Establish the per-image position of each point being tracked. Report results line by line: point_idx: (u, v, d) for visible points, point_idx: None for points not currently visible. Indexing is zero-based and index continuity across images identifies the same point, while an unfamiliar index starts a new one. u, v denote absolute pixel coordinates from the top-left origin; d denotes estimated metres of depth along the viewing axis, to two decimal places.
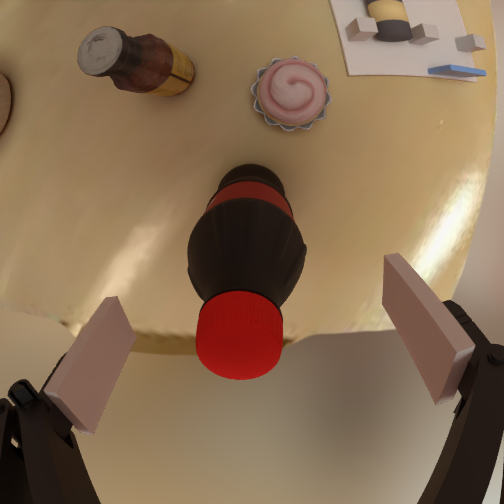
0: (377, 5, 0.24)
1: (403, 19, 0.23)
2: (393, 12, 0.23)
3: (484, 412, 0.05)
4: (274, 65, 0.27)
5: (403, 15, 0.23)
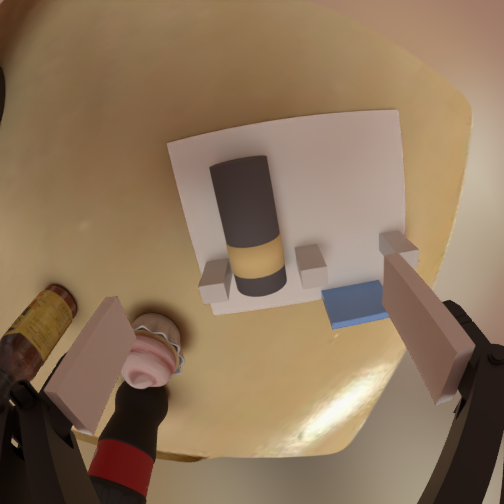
0: (229, 252, 0.27)
1: (263, 275, 0.26)
2: (247, 269, 0.26)
3: (484, 412, 0.05)
4: None
5: (264, 268, 0.26)
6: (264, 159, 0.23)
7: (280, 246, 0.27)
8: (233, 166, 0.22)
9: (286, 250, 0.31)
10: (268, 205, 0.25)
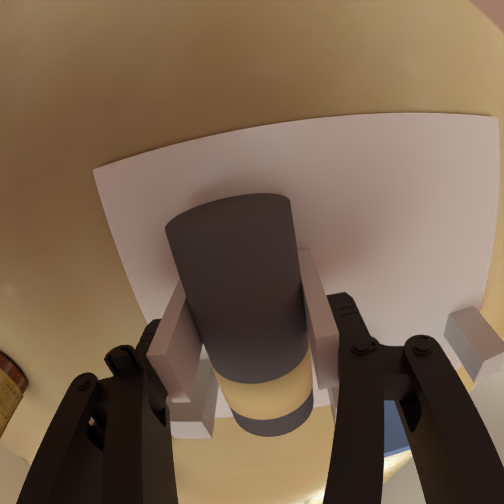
0: (218, 381, 0.13)
1: (281, 414, 0.13)
2: (254, 409, 0.13)
3: (356, 404, 0.06)
4: None
5: (284, 405, 0.13)
6: (288, 209, 0.11)
7: (310, 362, 0.14)
8: (220, 235, 0.09)
9: None
10: (296, 305, 0.12)
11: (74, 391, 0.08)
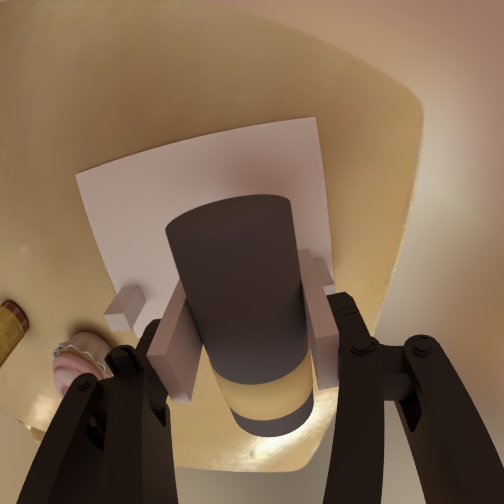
0: (219, 382, 0.13)
1: (281, 415, 0.13)
2: (254, 410, 0.13)
3: (356, 404, 0.06)
4: (54, 361, 0.28)
5: (284, 406, 0.13)
6: (289, 211, 0.11)
7: (310, 363, 0.14)
8: (221, 236, 0.09)
9: None
10: (296, 306, 0.12)
11: (75, 391, 0.08)
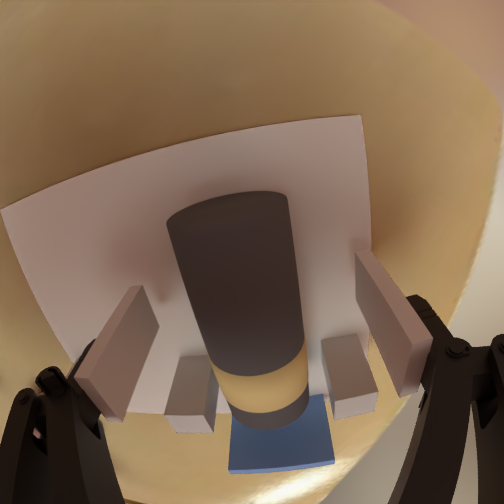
0: (215, 373, 0.14)
1: (275, 408, 0.14)
2: (248, 402, 0.13)
3: (445, 406, 0.05)
4: None
5: (278, 399, 0.13)
6: (285, 207, 0.11)
7: (305, 358, 0.14)
8: (216, 230, 0.10)
9: (169, 359, 0.19)
10: (291, 300, 0.12)
11: (18, 405, 0.07)
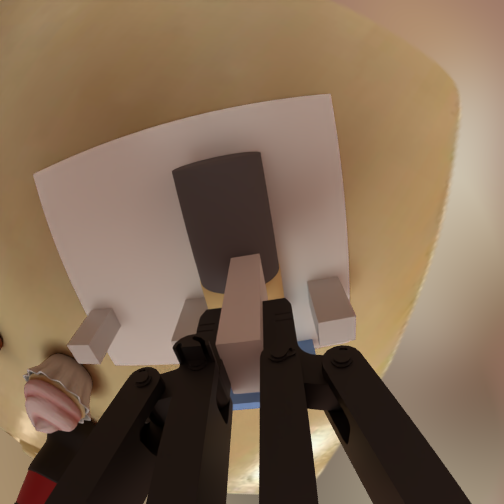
0: (203, 293, 0.18)
1: None
2: None
3: (278, 410, 0.07)
4: (25, 388, 0.22)
5: None
6: (251, 159, 0.14)
7: (276, 293, 0.18)
8: (195, 170, 0.14)
9: (176, 303, 0.23)
10: (256, 233, 0.16)
11: (132, 387, 0.08)
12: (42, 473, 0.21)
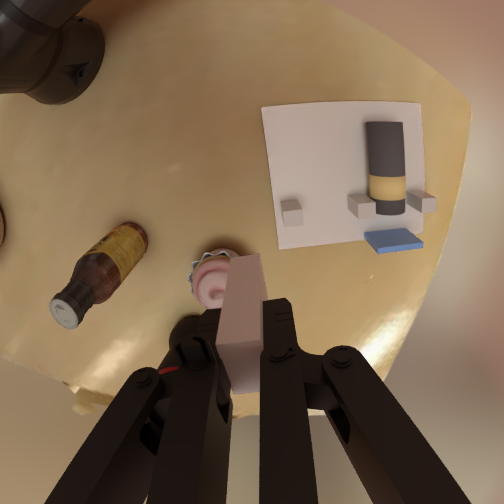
0: (373, 181, 0.35)
1: (395, 199, 0.34)
2: (386, 193, 0.34)
3: (278, 410, 0.07)
4: (202, 267, 0.38)
5: (397, 194, 0.34)
6: (402, 122, 0.31)
7: (405, 182, 0.34)
8: (387, 121, 0.30)
9: (341, 196, 0.39)
10: (403, 152, 0.32)
11: (132, 387, 0.08)
12: None
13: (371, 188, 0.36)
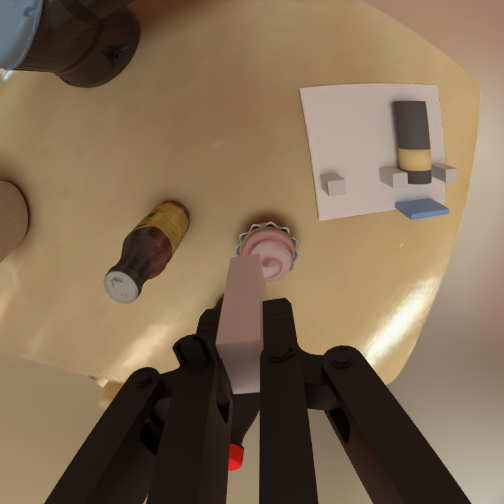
0: (404, 154, 0.36)
1: (424, 169, 0.35)
2: (416, 164, 0.35)
3: (278, 410, 0.07)
4: (252, 238, 0.39)
5: (425, 165, 0.35)
6: (425, 102, 0.32)
7: None
8: (414, 101, 0.31)
9: (374, 169, 0.41)
10: (428, 127, 0.33)
11: (132, 387, 0.08)
12: None
13: (402, 160, 0.37)
